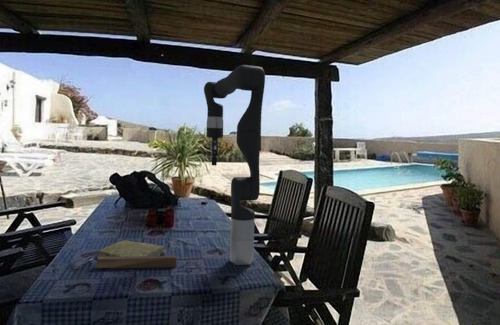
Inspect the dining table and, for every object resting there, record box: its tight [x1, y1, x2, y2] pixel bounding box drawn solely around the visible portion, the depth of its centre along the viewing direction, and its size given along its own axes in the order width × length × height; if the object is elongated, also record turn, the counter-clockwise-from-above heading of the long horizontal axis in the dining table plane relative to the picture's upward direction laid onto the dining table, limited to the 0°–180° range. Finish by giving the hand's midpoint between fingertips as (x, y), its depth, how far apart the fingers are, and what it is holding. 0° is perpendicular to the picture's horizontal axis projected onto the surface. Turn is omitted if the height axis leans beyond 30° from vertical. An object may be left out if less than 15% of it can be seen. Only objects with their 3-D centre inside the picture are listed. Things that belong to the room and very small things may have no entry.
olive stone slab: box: [96, 239, 165, 259], centre depth 149 cm, size 19×20×4 cm
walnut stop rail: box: [96, 255, 178, 270], centre depth 137 cm, size 2×28×4 cm, turn 99°
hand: (214, 165), depth 170 cm, fingers closed
